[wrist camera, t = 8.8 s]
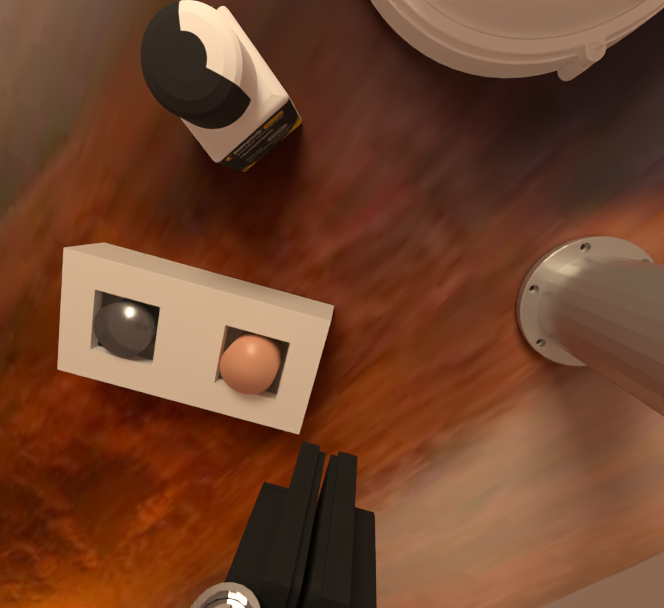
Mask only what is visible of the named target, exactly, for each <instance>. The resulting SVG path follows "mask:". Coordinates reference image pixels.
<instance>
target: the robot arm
mask: <svg viewBox="0 0 664 608" xmlns="http://www.w3.org/2000/svg"><path fill="white" fill-rule="evenodd" d="M581 245H582V247H581ZM531 286H532V288H531V289H530V290H529V288H530V287H531ZM516 315H517V322H518V325H519V328H520V331H521V333H522V335H523V337H524V338H525V340H526V341H527V343H528V344H529V345H530V346H531V347H532V348H533V349H534V350H536V351H537V352H538V353H540V354H541V355H542V356H544V357H545V358H547V359H549V360H551V361H553V362H556V363H560V364H563V365H568V366H589V367H590V368H592V369H593V370H595V371H596V372H598V373H599V374H601V375H602V376H604V377H605V378H607V379H608V380H610V381H611V382H613V383H614V384H616V385H617V386H619V387H620V388H622V389H623V390H625V391H626V392H628V393H629V394H631V395H632V396H634V397H635V398H637V399H638V400H640V401H641V402H643V403H644V404H646V405H647V406H649V407H650V408H652V409H653V410H655V411H657V412H658V413H660V414H661V415H663V416H664V264H660V263H655V262H654V260H653V259H652V258H651V257H650V256H649V255H648V253H647V252H646V251H645V250H643V249H642V248H640V247H639V246H637V245H636V244H634V243H632V242H629V241H627V240H624V239H621V238H615V237H609V236H588V237H581V238H577V239H574V240H571V241H568V242H565V243H563V244H561V245H559V246H557V247H555V248H554V249H552V250H551V251H550V252H548V253H547V254H545V255H544V256H543V257H542V258H541V259H540V260H539V261H538V262H537V263H536V264H535V265H534V266H533V267H532V268H531V270H530V271H529V273H528V274H527V275H526V277H525V279H524V281H523V283H522V285H521V287H520V290H519V294H518V298H517V306H516ZM319 449H320V446H318V445H315V444H311V443H307V442H304V441H303V442H302V445H301V449H300V452H299V456H298V459H297V462H296V466H295V469H294V473H293V476H292V480H291V483H290V487H289V489H288V488H285V487H281V486H277V485H274V484H270V483H267V482H264V483H263V485H262V488H261V490H260V493H259V495H258V498H257V500H256V503H255V506H254V508H253V511H252V513H251V516H250V518H249V521H248V523H247V526H246V529H245V531H244V534H243V536H242V539H241V541H240V544H239V547H238V549H237V552H236V554H235V557H234V559H233V562H232V565H231V567H230V570H229V572H228V575H227V577H226V580H225V582H224V583H220V584H217V585H215V586H212V587H210V588H209V589H207V590H206V591H205V592H203V593H202V594H201V595H200V596H199V597H198V598H197V600H196V601H195V602H194V603H193V605H192V606H191V608H377V606H376V552H375V515H374V512H370V511H366V510H363V509H359V508H356V507H355V493H356V473H357V456H355V455H351V454H347V453H344V452H340V451H339V453H338V456H335V455H331V456H330V460H329V463H328V467H327V470H326V474H325V477H324V481H323V484H322V488H321V491H320V495H319V498H318V493H319V488H320V482H321V477H322V471H323V466H324V460H325V454H326V453H324V452H320V451H319ZM317 499H318V502H317ZM316 504H317V505H316Z"/></svg>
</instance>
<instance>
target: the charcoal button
mask: <svg viewBox="0 0 664 608" xmlns="http://www.w3.org/2000/svg"><path fill="white" fill-rule="evenodd" d="M159 313H160V307H157V306H154V305H150V304H146V303H143V302H139V301H135V300H132V299H128V298H125V299H123V300H120V301H118V302H115V303H112V304H110V305H107V306H105V307H103V308H102V309H101V310H100V311H99V312H98V313H97V314H96V317H95V319H94V332H95V335H96V337H97V339H98V341H99V342H100V344H101V345H102V346H103V347H104V348H105V349H106V350H108V351H109V352H111V353H113V354H115V355H118V356H133V355H135V354H138V353H139V352H141V351H142V350H144V349H145V348H147V347H148V346H150V345H151V344H153V343H154V342H156V335H157V327H158V320H159Z"/></svg>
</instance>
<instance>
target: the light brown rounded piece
mask: <svg viewBox="0 0 664 608" xmlns="http://www.w3.org/2000/svg"><path fill="white" fill-rule="evenodd" d="M283 358H284V348H283V345H282V342H281V341H280V340H278V339H275V338H271V337H267V336H264V335H260V334H256V333H253V332H249V331H244V332H243V333H242V334H240V336H239V337H238V338H237V339H236V340H235V341H234V342H233V343H232V344H231V345H230V346H229V348H228V349H227V350H226V351H225V352H224V353H223V355H222V357H221V360H220V373H221V376H222V378H223V380H224V381H225V382H226V384H227V385H228V386H229V387H230V388H232V389H233V390H235V391H237V392H239V393H242V394H249V395H250V394H257V393H260V392H263V391H264V390H266V389H267V388H268V387H269V386H270V385H271V384H272V382H273V380H274V378H275V376H276V374H277V372H278V369H279V367H280V365H281V363H282V361H283Z"/></svg>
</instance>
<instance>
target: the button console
mask: <svg viewBox="0 0 664 608" xmlns="http://www.w3.org/2000/svg"><path fill="white" fill-rule="evenodd" d="M125 298H128V299H132V300H135V301H139V302H143V303H146V304H150V305H154V306H157V307H160V313H159V320H158V327H157V335H156V342H154V343H153V344H151V345H150V346H148V347H147V348H145V349H144V350H142V351H141V352H139V353H138V354H135V355H133V356H118V355H115V354H113V353H111V352H109V351H108V350H106V349H105V348H104V347H103V346H102V345H101V344H100V342H99V341H98V339H97V337H96V335H95V332H94V319H95V317H96V314H97V313H98V312H99V311H100V310H101V309H102V308H103V307H105V306H107V305H110V304H112V303H115V302H118V301H120V300H123V299H125ZM333 309H334V306H333V305H329V304H326V303H322V302H319V301H315V300H311V299H308V298H304V297H300V296H297V295H293V294H289V293H286V292H282V291H279V290H275V289H271V288H268V287H264V286H260V285H257V284H253V283H249V282H246V281H242V280H239V279H235V278H231V277H228V276H224V275H220V274H217V273H213V272H209V271H206V270H202V269H199V268H195V267H191V266H188V265H184V264H180V263H177V262H173V261H169V260H166V259H162V258H159V257H155V256H151V255H148V254H144V253H140V252H137V251H133V250H129V249H126V248H122V247H118V246H115V245H111V244H108V243H97V244H89V245H81V246H73V247H65V248H64V253H63V272H62V292H61V311H60V331H59V350H58V370H62V371H66V372H69V373H73V374H77V375H80V376H84V377H88V378H92V379H95V380H99V381H103V382H106V383H110V384H114V385H117V386H121V387H125V388H129V389H132V390H136V391H140V392H143V393H147V394H151V395H154V396H158V397H162V398H166V399H169V400H173V401H177V402H180V403H184V404H188V405H191V406H195V407H199V408H203V409H206V410H210V411H214V412H217V413H221V414H225V415H228V416H232V417H236V418H240V419H243V420H247V421H251V422H254V423H258V424H262V425H265V426H269V427H273V428H277V429H280V430H284V431H288V432H291V433H295V434H299V433H300V429H301V426H302V422H303V419H304V415H305V412H306V408H307V405H308V401H309V397H310V394H311V390H312V387H313V383H314V380H315V376H316V373H317V369H318V365H319V362H320V358H321V355H322V351H323V348H324V344H325V341H326V337H327V333H328V330H329V326H330V323H331V319H332V314H333ZM244 331H249V332H253V333H256V334H260V335H264V336H267V337H271V338H275V339H278V340H280V341H281V342H282V345H283V348H284V358H283V361H282V363H281V365H280V367H279V369H278V372H277V374H276V376H275V378H274V380H273V382H272V384H271V385H270V386H269V387H268V388H267V389H266V390H264V391H263V392H260V393H257V394H250V395H249V394H242V393H239V392H237V391H235V390H233V389H232V388H230V387H229V386H228V385H227V384H226V382H225V381H224V380H223V378H222V376H221V373H220V360H221V357H222V355H223V353H224V352H225V351H226V350H227V349H228V348H229V346H230V345H231V344H232V343H233V342H234V341H235V340H236V339H237V338H238V337H239V336H240V334H242V333H243V332H244Z"/></svg>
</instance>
